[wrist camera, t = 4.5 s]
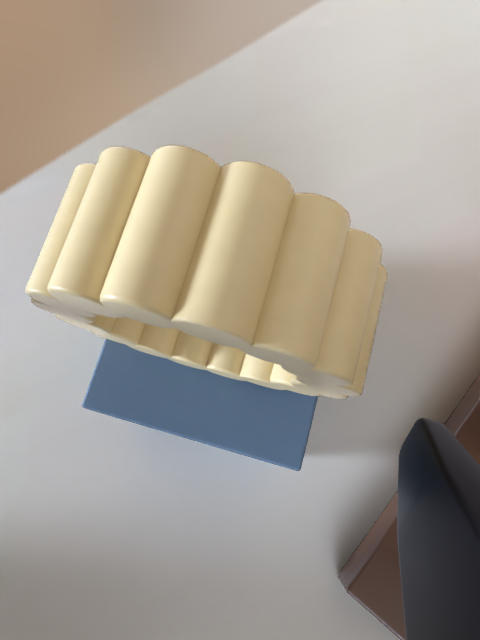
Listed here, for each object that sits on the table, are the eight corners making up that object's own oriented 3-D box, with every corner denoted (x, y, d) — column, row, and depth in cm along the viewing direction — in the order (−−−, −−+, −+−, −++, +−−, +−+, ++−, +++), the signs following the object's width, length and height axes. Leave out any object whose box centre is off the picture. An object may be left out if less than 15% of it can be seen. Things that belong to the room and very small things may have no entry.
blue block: (282, 456, 17) (300, 471, 12) (129, 411, 18) (80, 407, 12) (320, 305, 19) (351, 258, 13) (177, 267, 19) (151, 207, 14)
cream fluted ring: (323, 404, 12) (418, 384, 6) (97, 341, 13) (-64, 252, 6) (343, 319, 13) (450, 208, 6) (125, 261, 13) (7, 100, 7)
